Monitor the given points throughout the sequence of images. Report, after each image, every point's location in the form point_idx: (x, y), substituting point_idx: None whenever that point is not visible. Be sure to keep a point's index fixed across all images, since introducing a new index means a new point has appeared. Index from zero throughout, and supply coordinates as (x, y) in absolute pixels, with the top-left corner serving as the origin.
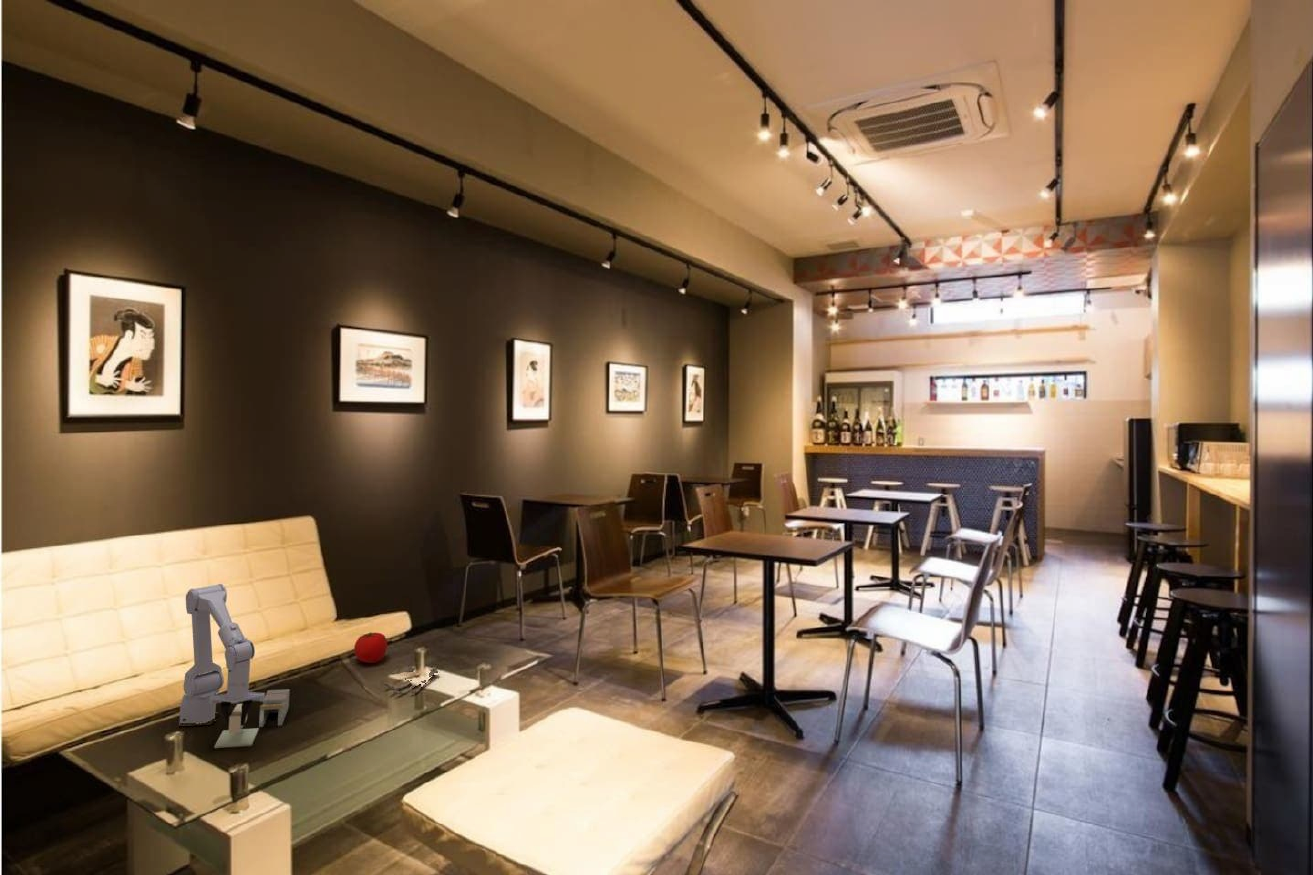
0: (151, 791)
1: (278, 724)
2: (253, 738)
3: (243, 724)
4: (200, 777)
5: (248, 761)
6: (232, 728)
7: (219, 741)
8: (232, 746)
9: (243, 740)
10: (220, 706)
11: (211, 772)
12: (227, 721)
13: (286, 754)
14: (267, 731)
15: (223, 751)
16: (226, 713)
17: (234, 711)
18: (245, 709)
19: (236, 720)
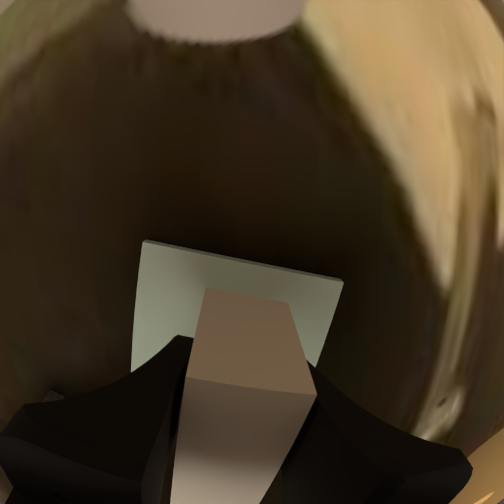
0: (499, 21)
1: (59, 398)
2: (138, 305)
3: (173, 338)
4: (383, 2)
5: (167, 51)
6: (263, 314)
7: (315, 330)
8: (248, 261)
9: (190, 301)
10: (462, 485)
11: (344, 16)
12: (316, 373)
13: (12, 90)
14: (91, 367)
15: (296, 220)
16: (361, 425)
17: (256, 479)
18: (99, 415)
19: (234, 351)
